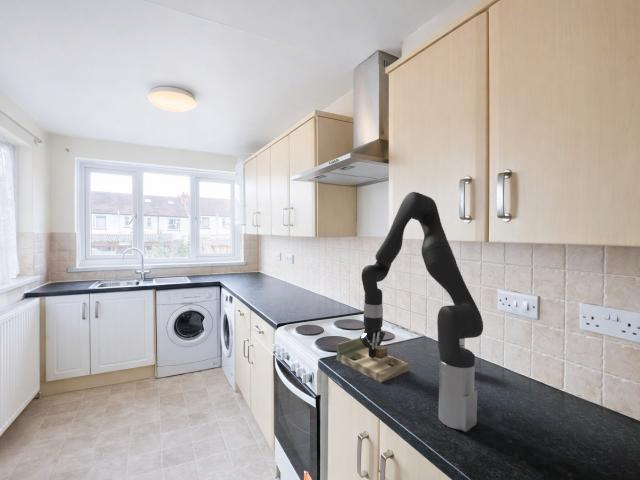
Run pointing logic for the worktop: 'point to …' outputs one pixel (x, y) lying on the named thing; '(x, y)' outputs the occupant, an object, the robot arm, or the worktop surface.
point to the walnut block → (381, 352)
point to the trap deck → (369, 361)
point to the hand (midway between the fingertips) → (372, 357)
